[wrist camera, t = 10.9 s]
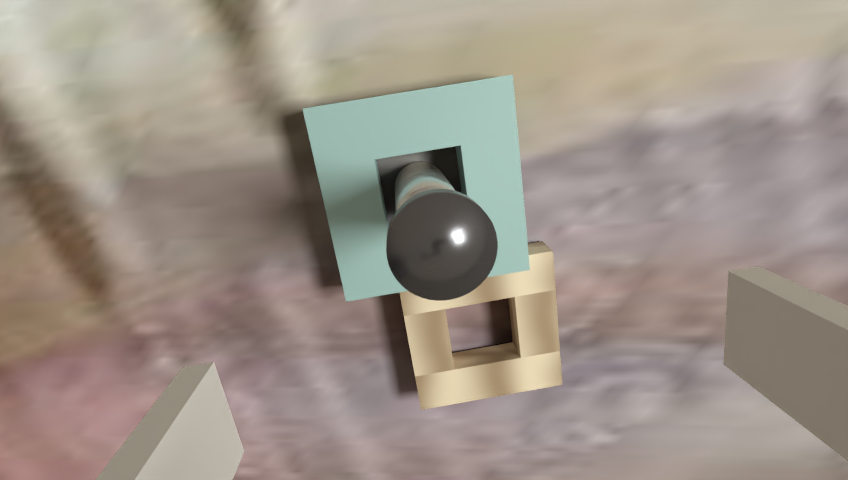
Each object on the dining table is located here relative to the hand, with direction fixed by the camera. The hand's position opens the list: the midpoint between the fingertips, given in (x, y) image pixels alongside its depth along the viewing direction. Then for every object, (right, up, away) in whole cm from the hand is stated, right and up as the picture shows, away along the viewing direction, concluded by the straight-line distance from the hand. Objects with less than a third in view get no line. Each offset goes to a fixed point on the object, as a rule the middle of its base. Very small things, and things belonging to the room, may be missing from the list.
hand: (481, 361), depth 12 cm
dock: (-2, +7, +23) cm, 24 cm away
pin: (-2, +7, +23) cm, 24 cm away
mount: (+3, -4, +27) cm, 27 cm away
